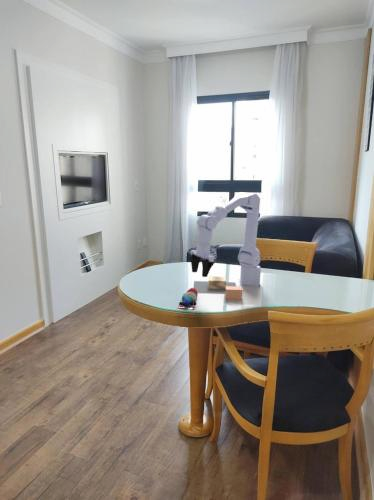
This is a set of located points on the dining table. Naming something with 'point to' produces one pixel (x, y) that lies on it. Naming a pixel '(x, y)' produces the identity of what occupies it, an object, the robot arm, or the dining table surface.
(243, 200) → the robot arm
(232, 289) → the terracotta brick
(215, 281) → the oak brick
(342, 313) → the dining table surface
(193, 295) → the toy figure
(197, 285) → the build plate
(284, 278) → the dining table surface
